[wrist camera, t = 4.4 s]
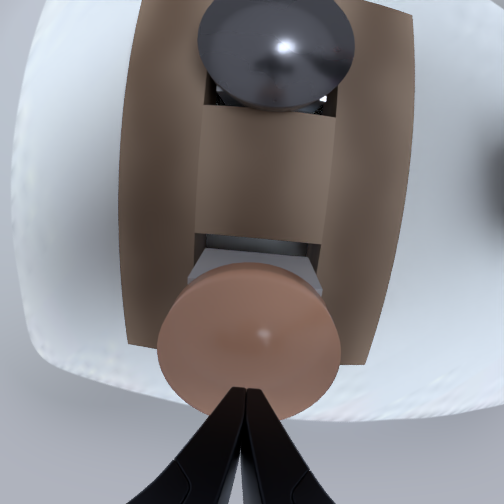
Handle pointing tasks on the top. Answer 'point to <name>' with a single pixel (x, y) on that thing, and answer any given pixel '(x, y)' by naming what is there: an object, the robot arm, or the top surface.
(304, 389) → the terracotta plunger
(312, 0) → the charcoal plunger
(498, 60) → the top surface
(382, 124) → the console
